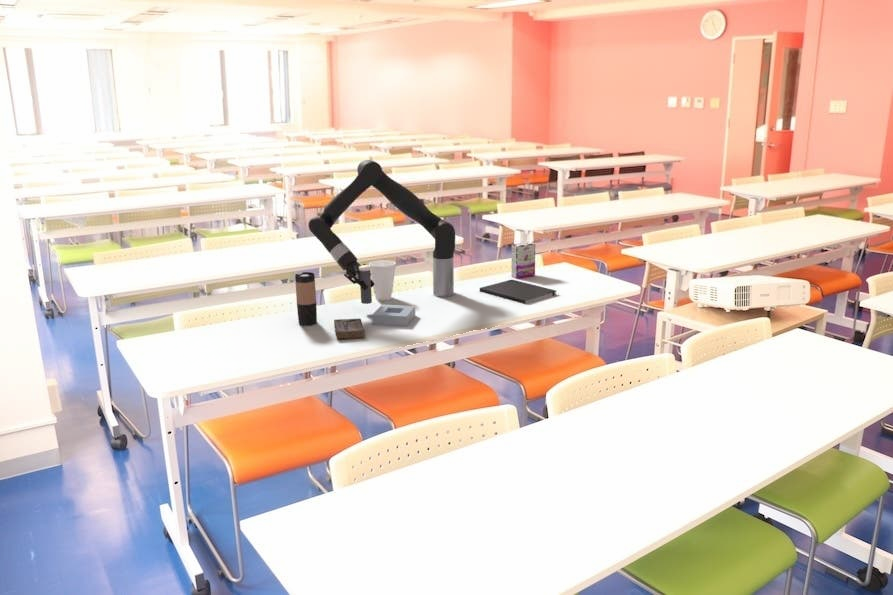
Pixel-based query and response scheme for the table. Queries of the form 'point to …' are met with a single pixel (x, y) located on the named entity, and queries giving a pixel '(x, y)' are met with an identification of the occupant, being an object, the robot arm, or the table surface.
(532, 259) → the candy bar box
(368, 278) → the plug
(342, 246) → the robot arm
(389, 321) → the socket
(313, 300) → the travel mug
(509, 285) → the notebook
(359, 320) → the box
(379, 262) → the cup
